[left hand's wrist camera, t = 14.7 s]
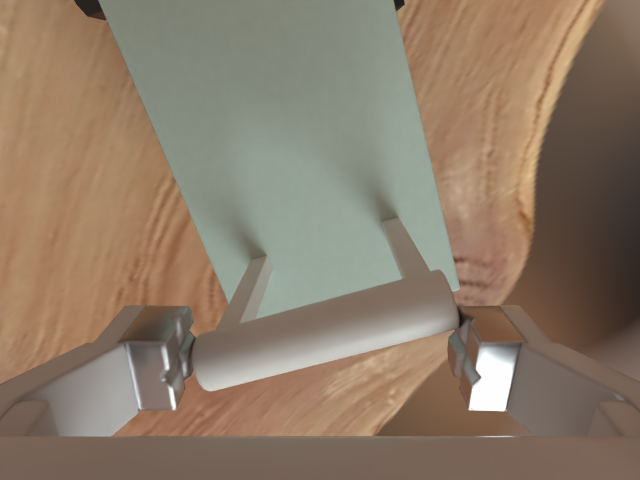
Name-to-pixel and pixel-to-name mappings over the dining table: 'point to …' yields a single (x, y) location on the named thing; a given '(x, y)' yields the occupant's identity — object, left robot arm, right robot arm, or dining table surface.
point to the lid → (295, 175)
